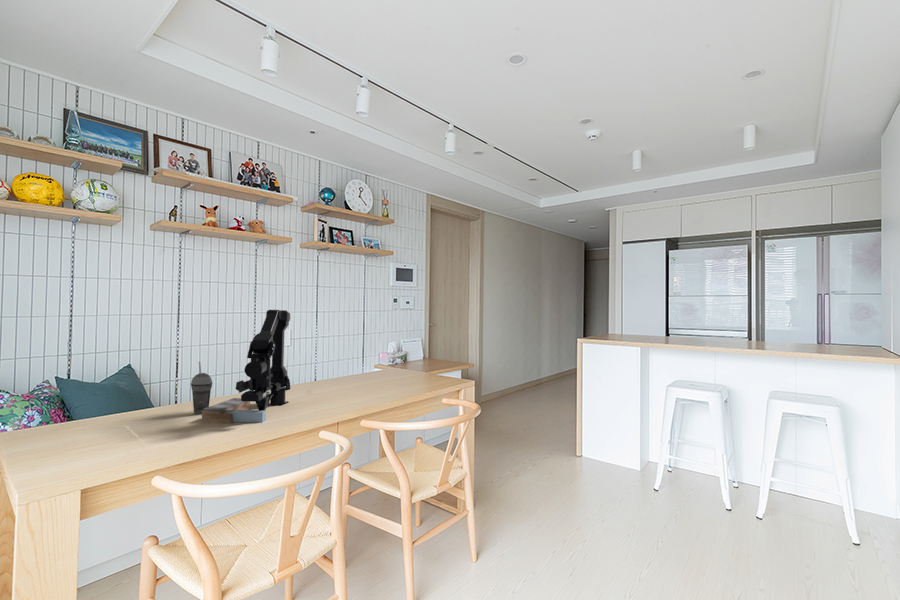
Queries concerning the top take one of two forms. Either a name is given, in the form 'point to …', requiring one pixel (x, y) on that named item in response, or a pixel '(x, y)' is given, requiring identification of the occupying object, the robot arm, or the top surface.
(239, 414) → the bar
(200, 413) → the beverage cup
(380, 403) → the top surface
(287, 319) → the robot arm
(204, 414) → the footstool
